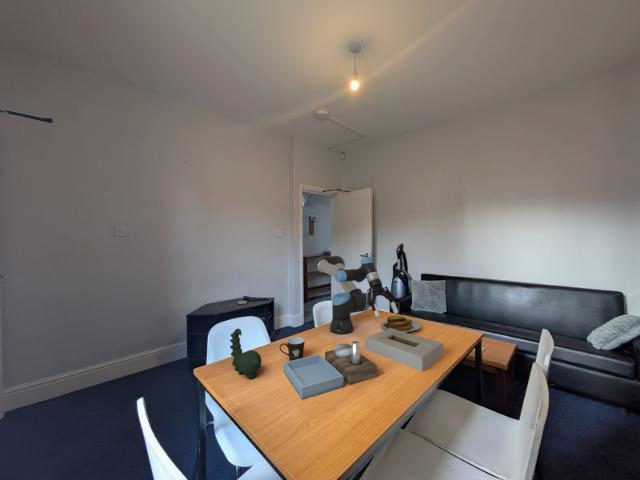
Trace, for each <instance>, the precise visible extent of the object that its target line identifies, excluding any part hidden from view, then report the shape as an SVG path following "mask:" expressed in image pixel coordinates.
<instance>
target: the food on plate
mask: <svg viewBox="0 0 640 480" xmlns="http://www.w3.org/2000/svg"><path fill="white" fill-rule="evenodd" d="M380 327H381V328H382V329H384V330H387V329H389V328H393V329H396V330H398V331H401V332H405V333H409V332H413V331H416V330H417V331H418V330H419V329H420V328H421V327H422V325H421V324H420V322H418V321H416V320H412V319H407V318H406V317H405V316H402V315H390V316H388V317H387V318H386V320H384V321H382V322H381V324H380Z"/></svg>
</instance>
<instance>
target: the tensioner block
mask: <svg viewBox="0 0 640 480" xmlns="http://www.w3.org/2000/svg"><path fill="white" fill-rule="evenodd" d="M324 359H325V360H326V361H327V362H328V363H330V364H331V365H332V366H333V367H334V368H335V369H336V370H337V371H338V372H339V373H340V374H342V375H343V381H344V382H345V383H346V384H347V385H349V386H351V385H355V384H358V383H361V382H365V381H368V380H371V379H375V378H377V377H378V365H377V364H376V363H374V362H373V361H371V360H370V359H369V358H367V357H365V356H364V355H362V354H361V353H360V365H358V366H353V365H352V344H348V343H338V344H336V345H335V346H334V348H333V349H332V350H328V351H327V350H326V351H325V352H324Z"/></svg>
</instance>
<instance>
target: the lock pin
mask: <svg viewBox="0 0 640 480" xmlns="http://www.w3.org/2000/svg"><path fill="white" fill-rule="evenodd" d="M360 344H361V343H360V341H355V340H354V341H351V346H352V365H353V366H358V365H360V354H361V352H360Z"/></svg>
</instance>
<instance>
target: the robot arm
mask: <svg viewBox="0 0 640 480" xmlns="http://www.w3.org/2000/svg"><path fill="white" fill-rule="evenodd" d="M314 267H315V269H316V270H317V272H320V273H325V274H327V275H329V276H331V277H333V278H334V279H335V281H336V282H338V283H339V284H340V286H341V288H342V290H343V291H344V292H339V293H336V294H334V295H333V296H332V300H331V306H332V307H331V308H332V311H331V312H332V317H331V318H332V319H331V322H330V325H329V331H330V332H331V333H332V334H335V335H349V334H351V333H353V332H354V325H353V323H352V322H353V321H352V320H351V314H354V313H359V312H365V311H368V310H369V309H370V308H371V310H372V312H374V316H375V318H378V317H380V312H379V309H378V307H377V305H376V303H375V302H376V299H377V297H378V296H379V297H380V296H382V297H384V298H385V299H386V300H387V301H389V302H390V306H391V309H392V311H393V313H394V315H397V314H399V309H398V306H397V303H396V301H397V300H398V299H397V297H396V296H395V295H394V294H393V293H392V292H391V290H390V289H389V288H388V286H385V287H383V282H382V281H381V279H380V276H379V273H378V270H377V268H376V265H375V262H374V260H373V259H372V258H371V256H366V257H363V258H362V259H360V267H358V268H350V269H349V268H348V269H345V267H346V263H345V259H344V258H343V257H342V256H341V255H328V256H325V255H324V256H320V257H318V258H317V259H316V261H315V262H314ZM365 280H367V283H368V286H369V288H368V289H367V290H366V292H363V291H362V289H361V288H358V287H357V286H356V285H355V283H359V284H360V283H362V282H363V281H365ZM354 282H355V283H354Z"/></svg>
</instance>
